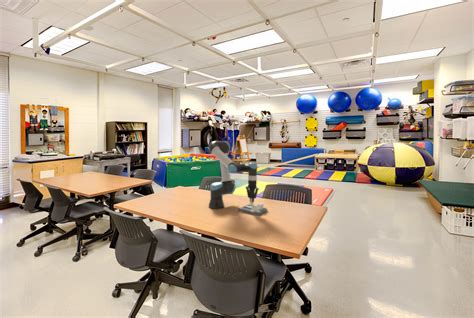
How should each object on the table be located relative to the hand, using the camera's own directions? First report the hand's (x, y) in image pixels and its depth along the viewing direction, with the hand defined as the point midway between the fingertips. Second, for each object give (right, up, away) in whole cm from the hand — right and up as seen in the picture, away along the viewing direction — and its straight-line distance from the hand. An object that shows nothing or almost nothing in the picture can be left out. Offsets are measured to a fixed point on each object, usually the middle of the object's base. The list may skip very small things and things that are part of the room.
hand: (251, 205), depth 222 cm
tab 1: (+2, -4, -2) cm, 5 cm away
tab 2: (+8, -4, +3) cm, 10 cm away
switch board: (+1, -6, +4) cm, 7 cm away
